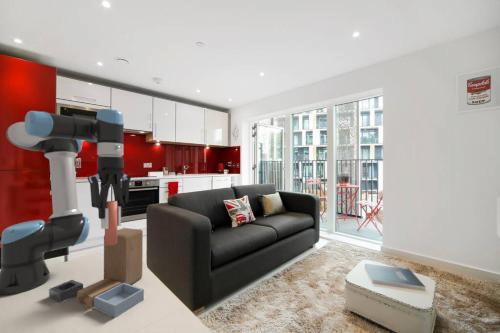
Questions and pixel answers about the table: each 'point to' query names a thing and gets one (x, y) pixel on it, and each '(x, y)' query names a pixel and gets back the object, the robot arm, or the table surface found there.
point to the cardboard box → (95, 291)
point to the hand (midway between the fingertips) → (111, 226)
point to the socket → (65, 290)
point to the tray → (118, 299)
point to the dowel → (111, 223)
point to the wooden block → (124, 256)
